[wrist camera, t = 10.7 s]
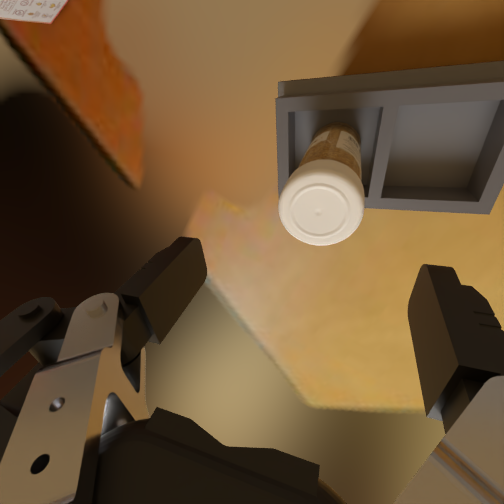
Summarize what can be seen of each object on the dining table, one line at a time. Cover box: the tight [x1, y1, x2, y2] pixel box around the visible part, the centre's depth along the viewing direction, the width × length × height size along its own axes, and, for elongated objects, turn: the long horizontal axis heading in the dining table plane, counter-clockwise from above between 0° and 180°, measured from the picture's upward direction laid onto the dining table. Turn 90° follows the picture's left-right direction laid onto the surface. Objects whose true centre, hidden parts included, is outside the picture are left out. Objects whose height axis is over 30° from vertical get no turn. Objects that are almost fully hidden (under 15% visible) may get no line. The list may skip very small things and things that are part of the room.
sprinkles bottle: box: [278, 122, 365, 246], centre depth 19 cm, size 5×5×13 cm
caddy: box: [276, 61, 504, 214], centre depth 22 cm, size 18×11×4 cm, turn 96°
